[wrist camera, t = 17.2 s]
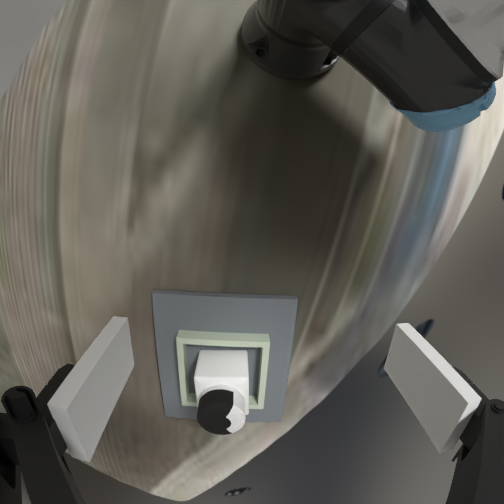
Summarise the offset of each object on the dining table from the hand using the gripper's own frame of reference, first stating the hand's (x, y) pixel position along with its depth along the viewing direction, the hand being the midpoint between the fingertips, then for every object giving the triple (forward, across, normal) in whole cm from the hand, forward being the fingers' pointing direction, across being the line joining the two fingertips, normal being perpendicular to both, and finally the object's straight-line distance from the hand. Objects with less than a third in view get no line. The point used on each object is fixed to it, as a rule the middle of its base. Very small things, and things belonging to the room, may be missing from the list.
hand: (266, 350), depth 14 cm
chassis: (+32, -3, -23) cm, 39 cm away
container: (+30, -3, -23) cm, 38 cm away
